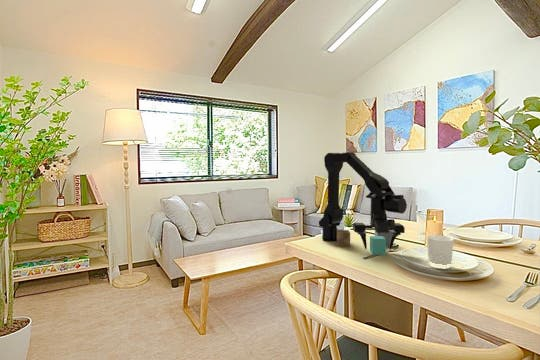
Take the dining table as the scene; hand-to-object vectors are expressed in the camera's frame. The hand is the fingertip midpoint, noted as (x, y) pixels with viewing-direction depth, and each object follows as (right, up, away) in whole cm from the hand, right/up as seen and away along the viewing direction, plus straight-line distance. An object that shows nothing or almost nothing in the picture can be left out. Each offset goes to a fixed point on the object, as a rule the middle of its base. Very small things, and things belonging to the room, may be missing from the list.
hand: (377, 249), depth 124 cm
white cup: (+16, -3, -16) cm, 23 cm away
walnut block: (-11, -1, +11) cm, 16 cm away
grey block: (+6, -1, +13) cm, 14 cm away
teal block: (0, -1, 0) cm, 1 cm away
